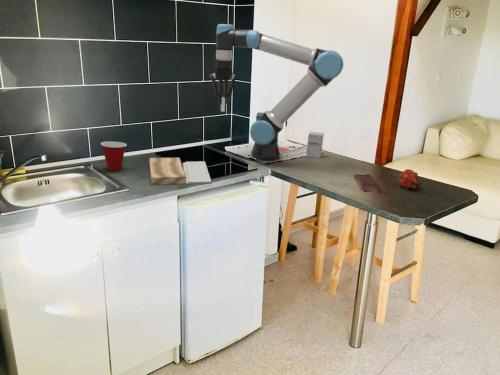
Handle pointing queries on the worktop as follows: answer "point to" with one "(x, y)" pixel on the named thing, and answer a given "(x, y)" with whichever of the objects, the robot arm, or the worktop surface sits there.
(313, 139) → the supplement box
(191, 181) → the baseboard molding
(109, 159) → the plastic cup
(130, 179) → the worktop surface
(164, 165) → the oak floor section
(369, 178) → the wooden tablet
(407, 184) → the dragon fruit
